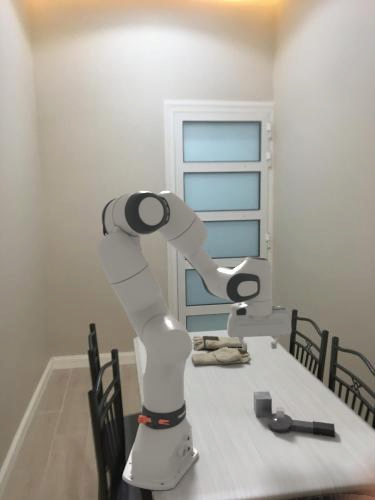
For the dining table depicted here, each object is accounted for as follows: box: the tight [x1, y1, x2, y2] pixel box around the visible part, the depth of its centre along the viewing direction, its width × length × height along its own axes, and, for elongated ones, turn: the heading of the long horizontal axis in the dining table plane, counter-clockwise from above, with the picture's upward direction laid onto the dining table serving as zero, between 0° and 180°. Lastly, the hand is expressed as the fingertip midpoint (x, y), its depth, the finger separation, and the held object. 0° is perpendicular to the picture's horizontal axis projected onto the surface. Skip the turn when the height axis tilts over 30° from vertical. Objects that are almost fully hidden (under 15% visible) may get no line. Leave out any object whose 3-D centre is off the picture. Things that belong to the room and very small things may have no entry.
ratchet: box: [268, 406, 336, 438], centre depth 121 cm, size 7×19×6 cm, turn 74°
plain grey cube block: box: [253, 391, 273, 418], centre depth 131 cm, size 5×5×6 cm
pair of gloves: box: [190, 334, 251, 366], centre depth 183 cm, size 30×26×5 cm
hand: (259, 348), depth 130 cm, fingers open, 8 cm apart
